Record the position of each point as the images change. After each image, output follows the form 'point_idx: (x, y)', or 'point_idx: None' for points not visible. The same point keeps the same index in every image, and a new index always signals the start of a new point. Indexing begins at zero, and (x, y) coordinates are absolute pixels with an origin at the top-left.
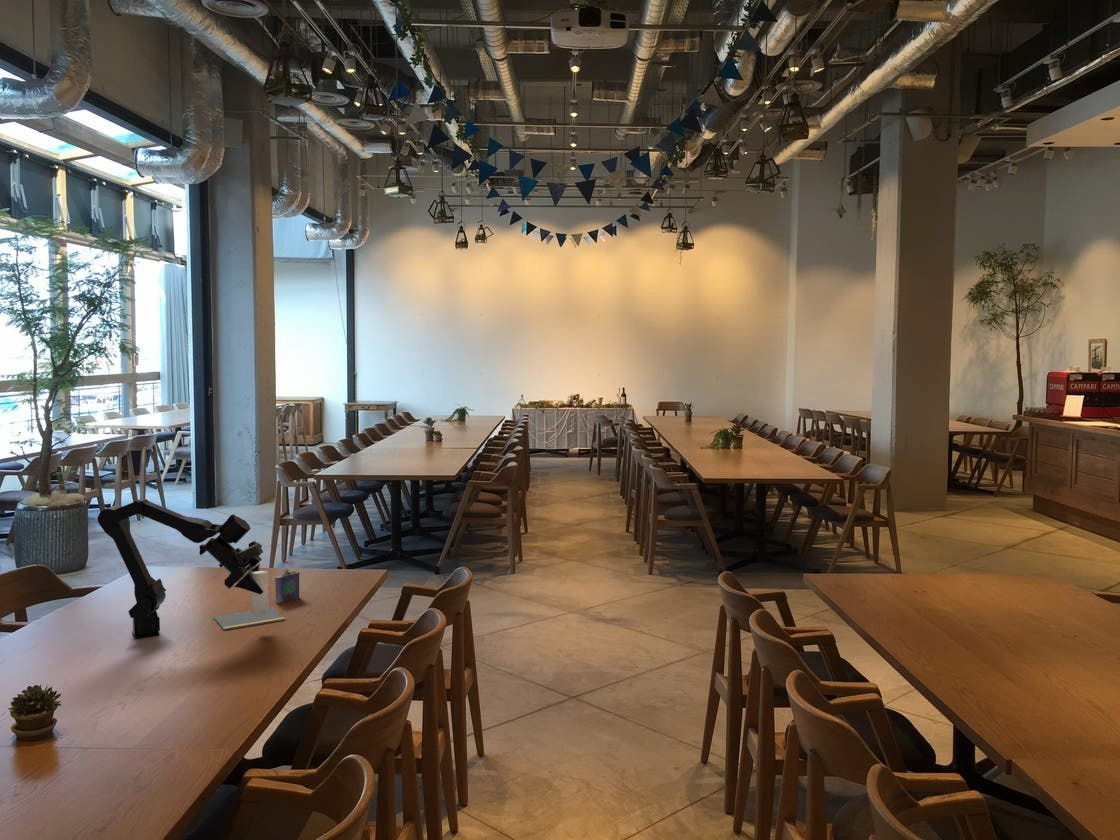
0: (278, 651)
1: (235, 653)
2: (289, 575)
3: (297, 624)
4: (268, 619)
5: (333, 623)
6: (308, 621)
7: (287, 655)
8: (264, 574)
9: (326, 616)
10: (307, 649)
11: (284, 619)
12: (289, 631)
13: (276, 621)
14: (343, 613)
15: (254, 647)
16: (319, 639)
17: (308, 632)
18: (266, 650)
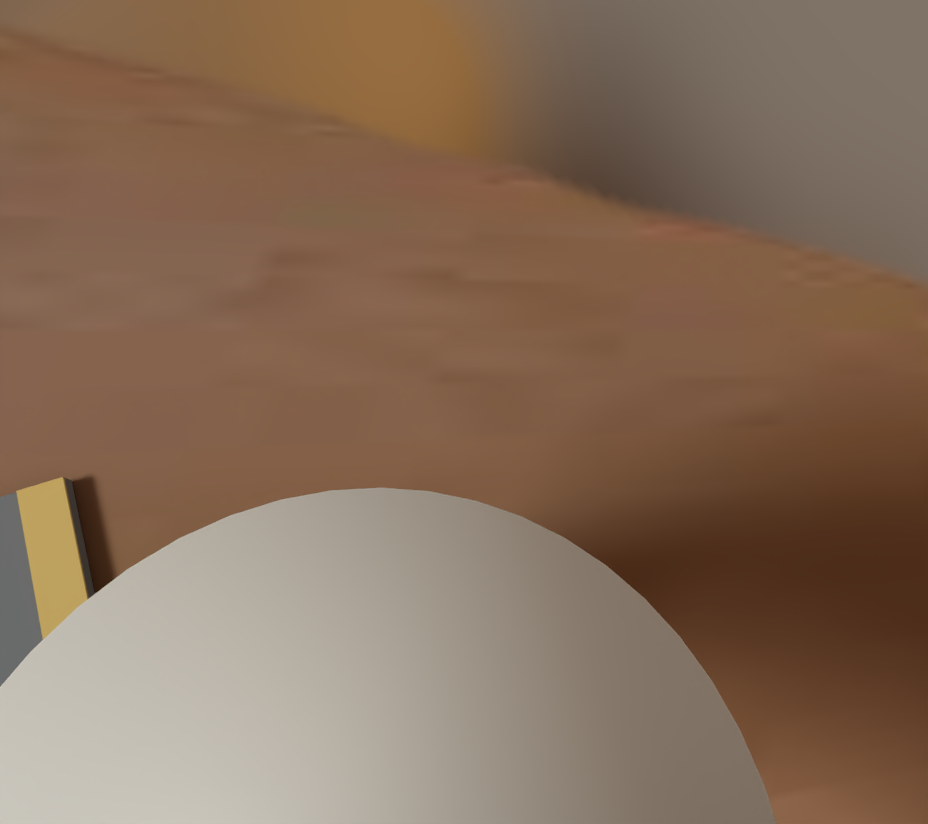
0: (849, 484)
1: (895, 816)
2: None
3: (240, 377)
4: (23, 635)
5: (302, 149)
6: (186, 299)
7: (920, 423)
8: (649, 613)
9: (99, 179)
10: (813, 311)
11: (69, 483)
12: (413, 431)
13: (85, 554)
14: (70, 75)
15: (762, 672)
16: (632, 242)
17: (470, 302)
18: (829, 570)
